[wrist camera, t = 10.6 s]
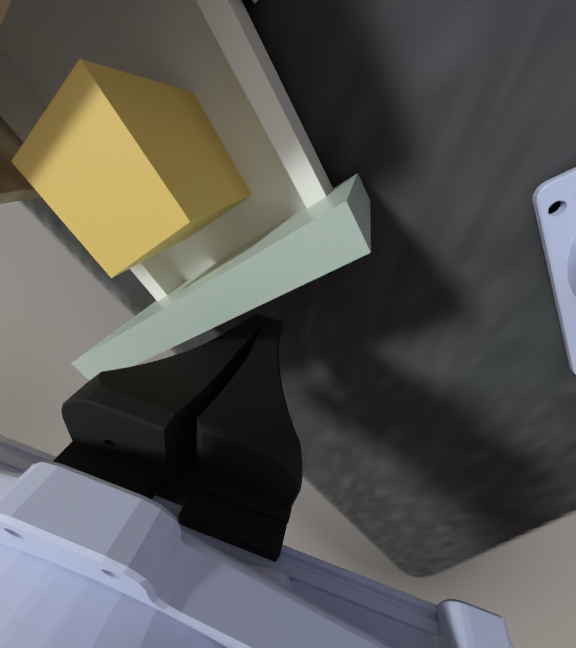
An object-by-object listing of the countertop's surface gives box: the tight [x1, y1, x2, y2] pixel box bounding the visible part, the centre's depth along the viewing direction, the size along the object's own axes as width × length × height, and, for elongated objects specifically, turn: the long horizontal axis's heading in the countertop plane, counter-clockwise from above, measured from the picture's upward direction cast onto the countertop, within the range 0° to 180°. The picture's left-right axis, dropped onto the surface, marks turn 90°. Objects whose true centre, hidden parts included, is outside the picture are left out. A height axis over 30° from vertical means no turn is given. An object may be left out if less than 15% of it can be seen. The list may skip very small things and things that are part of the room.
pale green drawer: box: [0, 0, 371, 381], centre depth 9 cm, size 14×12×7 cm
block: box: [11, 59, 252, 278], centre depth 10 cm, size 4×4×5 cm
